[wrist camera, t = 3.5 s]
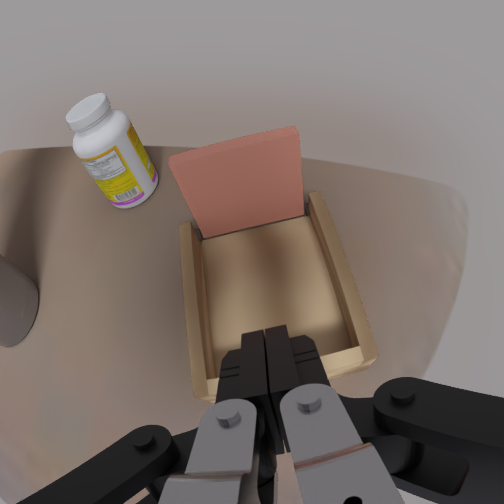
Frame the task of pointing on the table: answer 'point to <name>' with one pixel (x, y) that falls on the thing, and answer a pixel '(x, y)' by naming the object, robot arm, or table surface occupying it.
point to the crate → (272, 294)
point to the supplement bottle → (111, 151)
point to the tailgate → (242, 181)
